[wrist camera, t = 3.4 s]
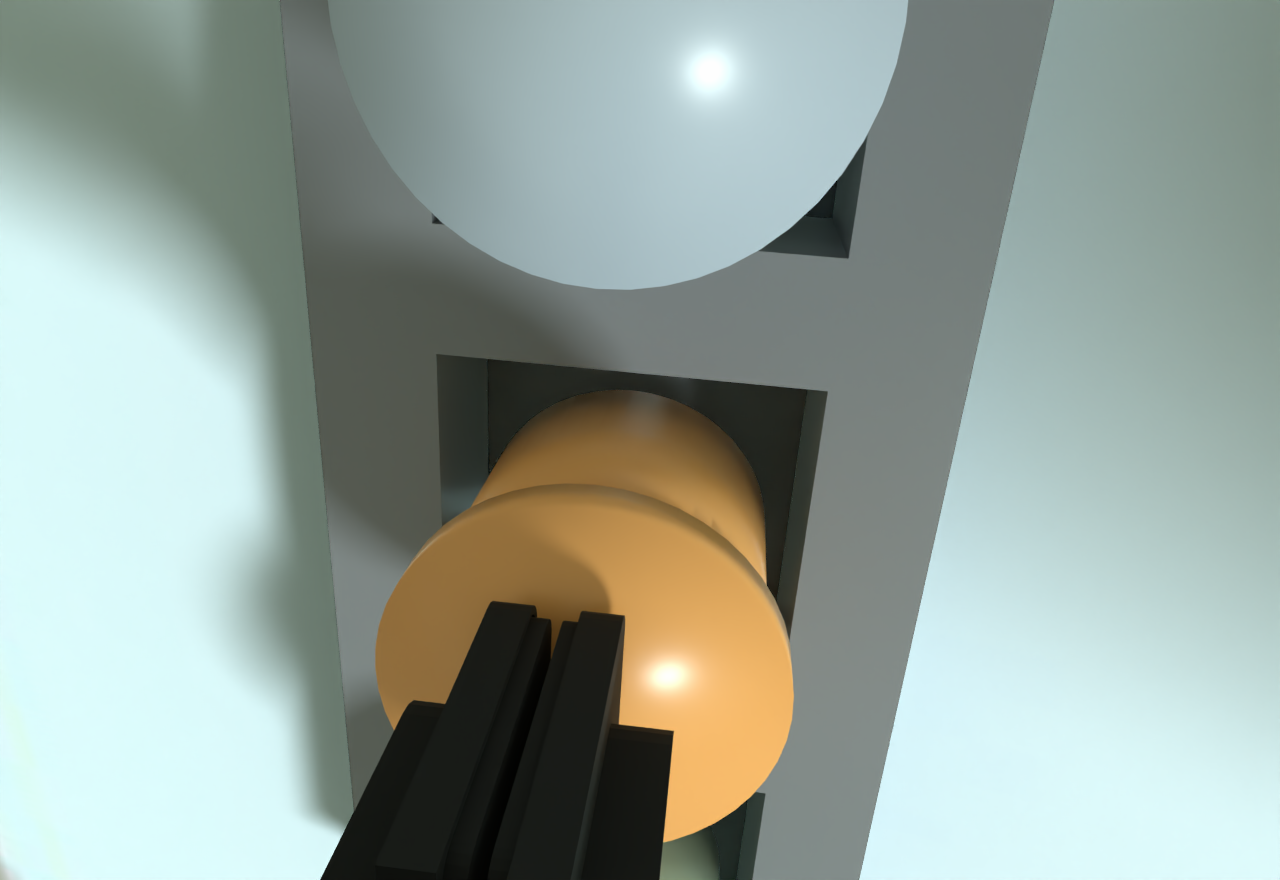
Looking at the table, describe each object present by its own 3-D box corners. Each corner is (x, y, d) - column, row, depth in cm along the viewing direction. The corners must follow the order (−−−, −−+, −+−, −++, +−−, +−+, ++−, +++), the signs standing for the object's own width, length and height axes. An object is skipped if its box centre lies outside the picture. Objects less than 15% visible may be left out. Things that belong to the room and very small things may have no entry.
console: (1053, -285, 13) (1136, -372, 10) (813, 926, 23) (821, 1050, 20) (346, -313, 13) (243, -399, 11) (414, 870, 23) (369, 982, 21)
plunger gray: (888, -217, 11) (967, -358, 7) (826, 224, 14) (858, 311, 9) (459, -237, 12) (298, -382, 8) (467, 195, 14) (345, 267, 10)
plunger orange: (802, 388, 15) (822, 533, 10) (763, 664, 17) (766, 872, 13) (469, 357, 15) (361, 484, 11) (474, 630, 17) (386, 821, 13)
